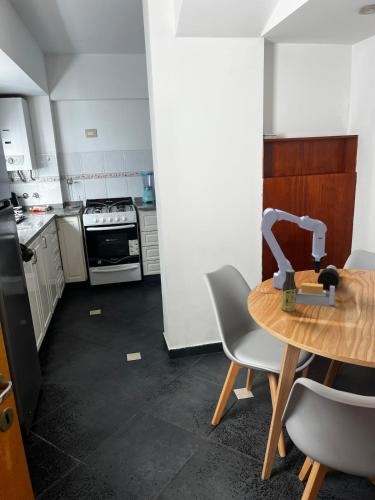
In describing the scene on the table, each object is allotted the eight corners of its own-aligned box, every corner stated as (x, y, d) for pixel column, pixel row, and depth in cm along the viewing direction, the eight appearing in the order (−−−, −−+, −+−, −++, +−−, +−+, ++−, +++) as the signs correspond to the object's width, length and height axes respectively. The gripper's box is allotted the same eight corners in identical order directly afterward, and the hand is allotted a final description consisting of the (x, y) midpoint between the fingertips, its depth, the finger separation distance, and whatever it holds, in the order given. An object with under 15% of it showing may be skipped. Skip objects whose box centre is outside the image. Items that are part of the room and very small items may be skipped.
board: (294, 306, 173) (294, 303, 173) (298, 291, 191) (298, 288, 191) (335, 310, 167) (335, 307, 166) (335, 294, 185) (335, 291, 184)
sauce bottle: (285, 315, 164) (286, 273, 159) (278, 310, 170) (279, 269, 165) (298, 313, 166) (299, 271, 160) (291, 308, 171) (292, 267, 166)
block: (301, 292, 185) (301, 285, 184) (301, 289, 188) (302, 282, 187) (322, 294, 181) (322, 286, 180) (322, 291, 185) (323, 284, 184)
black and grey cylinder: (335, 280, 217) (344, 266, 214) (331, 295, 187) (342, 278, 183) (319, 271, 220) (328, 257, 217) (313, 284, 190) (324, 268, 186)
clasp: (329, 304, 169) (330, 290, 167) (329, 297, 177) (330, 283, 175) (333, 305, 168) (334, 290, 166) (333, 298, 176) (334, 283, 174)
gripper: (326, 249, 178) (325, 275, 182) (327, 242, 191) (326, 266, 195) (311, 248, 181) (310, 274, 184) (313, 241, 194) (312, 266, 197)
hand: (317, 270), depth 190 cm, fingers open, 7 cm apart
